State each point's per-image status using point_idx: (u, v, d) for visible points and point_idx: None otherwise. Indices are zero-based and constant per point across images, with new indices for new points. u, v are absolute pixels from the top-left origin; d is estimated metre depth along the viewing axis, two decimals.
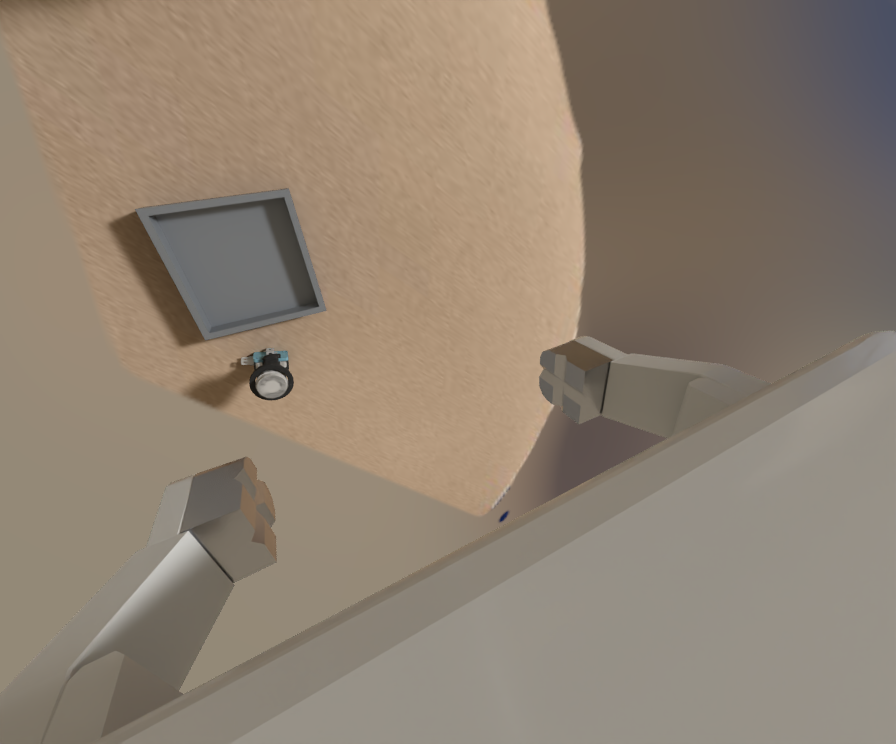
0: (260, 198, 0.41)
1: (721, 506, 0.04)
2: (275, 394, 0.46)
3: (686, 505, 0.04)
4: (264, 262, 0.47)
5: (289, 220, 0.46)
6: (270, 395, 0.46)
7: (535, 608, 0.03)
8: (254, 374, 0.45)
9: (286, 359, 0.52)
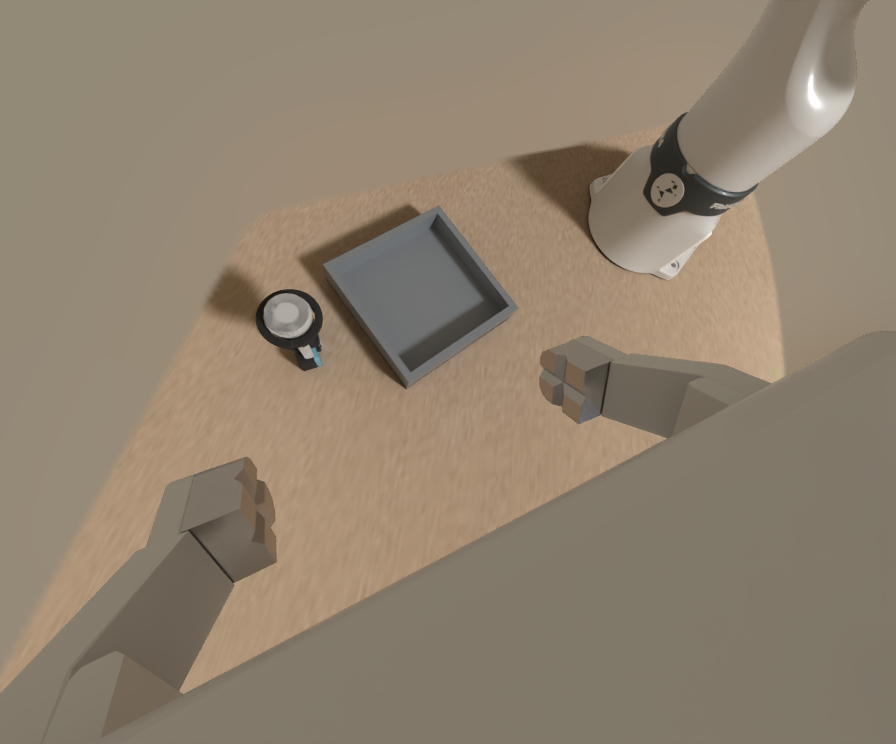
0: (496, 287, 0.41)
1: (721, 506, 0.04)
2: (272, 319, 0.28)
3: (686, 505, 0.04)
4: (431, 312, 0.41)
5: None
6: (269, 313, 0.28)
7: (535, 608, 0.03)
8: (300, 293, 0.30)
9: (315, 358, 0.35)
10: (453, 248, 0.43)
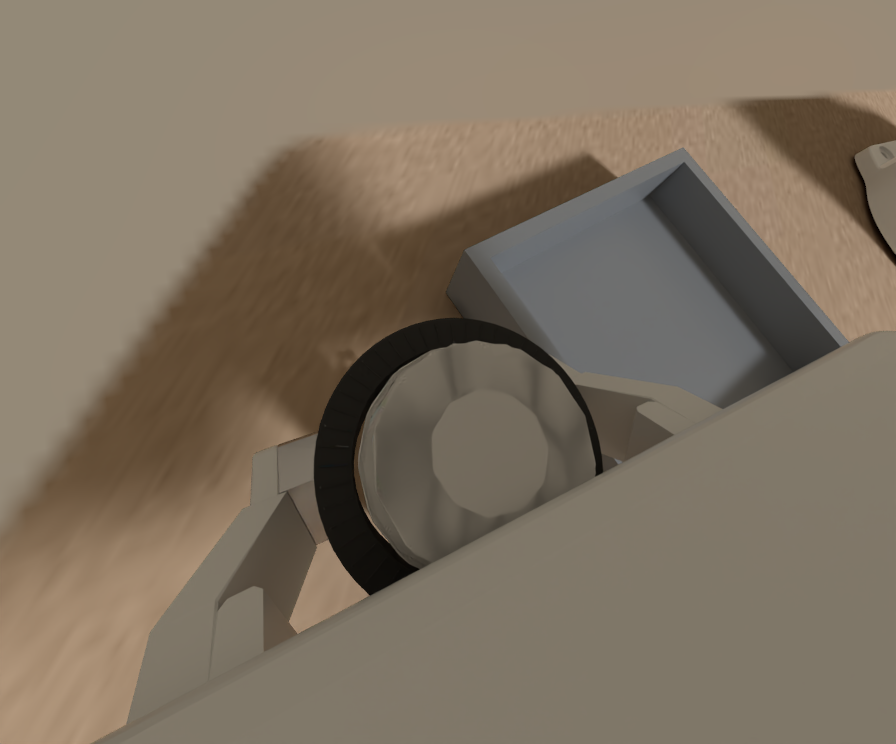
0: (828, 328, 0.18)
1: (721, 506, 0.04)
2: (422, 499, 0.05)
3: (686, 506, 0.04)
4: (676, 378, 0.18)
5: None
6: (408, 456, 0.05)
7: (535, 608, 0.03)
8: (505, 337, 0.07)
9: None
10: (696, 241, 0.21)
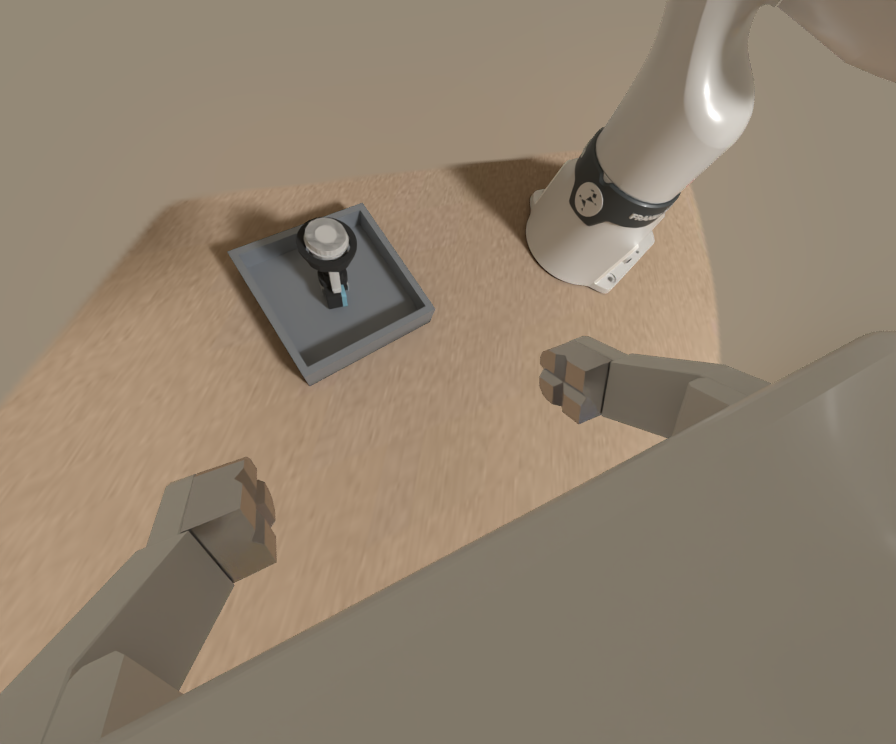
0: (414, 287, 0.40)
1: (721, 506, 0.04)
2: (312, 238, 0.30)
3: (686, 506, 0.04)
4: (345, 309, 0.40)
5: None
6: (310, 233, 0.30)
7: (535, 608, 0.03)
8: (338, 221, 0.32)
9: (343, 294, 0.37)
10: (377, 246, 0.42)
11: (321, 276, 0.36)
